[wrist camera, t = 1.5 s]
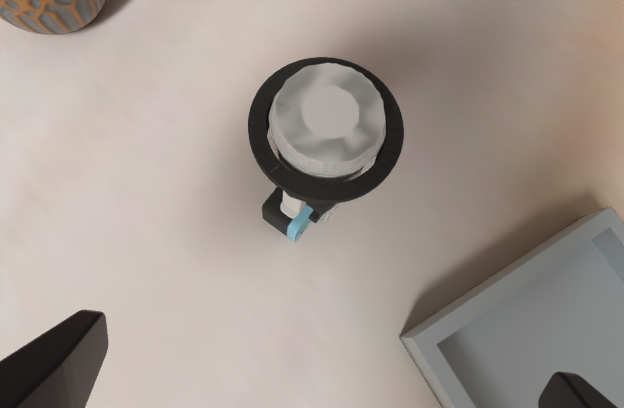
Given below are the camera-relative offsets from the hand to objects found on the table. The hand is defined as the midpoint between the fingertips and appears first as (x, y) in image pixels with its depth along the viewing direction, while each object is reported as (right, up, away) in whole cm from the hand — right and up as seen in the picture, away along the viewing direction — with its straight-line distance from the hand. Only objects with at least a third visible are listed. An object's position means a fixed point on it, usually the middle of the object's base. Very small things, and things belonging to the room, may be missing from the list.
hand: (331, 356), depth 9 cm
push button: (0, +4, +15) cm, 16 cm away
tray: (+13, -6, +13) cm, 19 cm away
